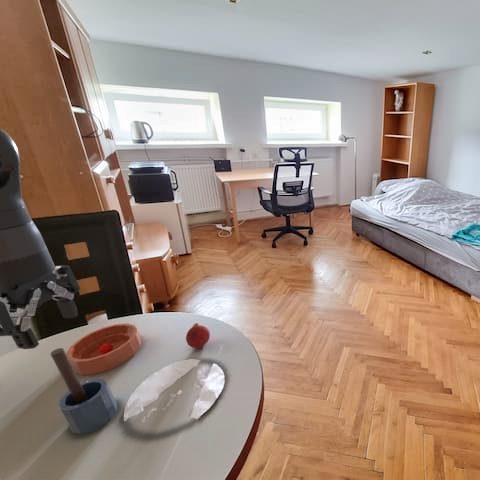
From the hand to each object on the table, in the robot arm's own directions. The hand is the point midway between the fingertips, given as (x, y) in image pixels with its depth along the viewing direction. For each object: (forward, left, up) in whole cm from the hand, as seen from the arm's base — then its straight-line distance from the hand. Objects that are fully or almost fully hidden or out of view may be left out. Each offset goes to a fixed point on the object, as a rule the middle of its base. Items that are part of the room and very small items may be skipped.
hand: (52, 331), depth 53 cm
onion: (+14, +20, -24) cm, 34 cm away
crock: (0, 0, -23) cm, 23 cm away
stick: (-1, 0, -23) cm, 23 cm away
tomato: (-11, +20, -21) cm, 31 cm away
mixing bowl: (-10, +20, -23) cm, 32 cm away
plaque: (+15, +4, -24) cm, 28 cm away
